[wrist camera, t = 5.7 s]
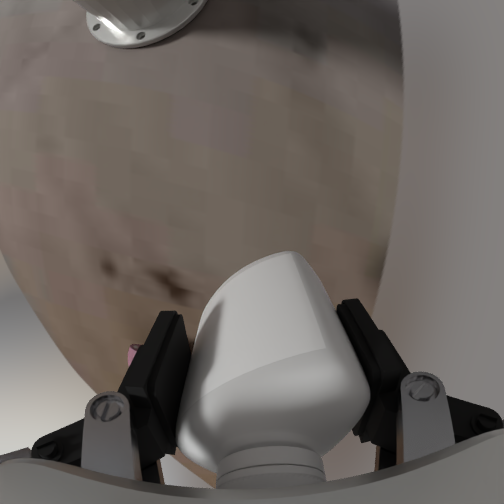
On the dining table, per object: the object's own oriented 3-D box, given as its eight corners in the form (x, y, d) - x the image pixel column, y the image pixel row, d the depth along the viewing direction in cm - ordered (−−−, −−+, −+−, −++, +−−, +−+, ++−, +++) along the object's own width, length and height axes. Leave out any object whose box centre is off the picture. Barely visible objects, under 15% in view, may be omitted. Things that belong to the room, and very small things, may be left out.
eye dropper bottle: (188, 263, 13) (71, 555, 2) (314, 243, 13) (472, 531, 1) (210, 342, 14) (176, 586, 3) (321, 325, 14) (398, 566, 3)
